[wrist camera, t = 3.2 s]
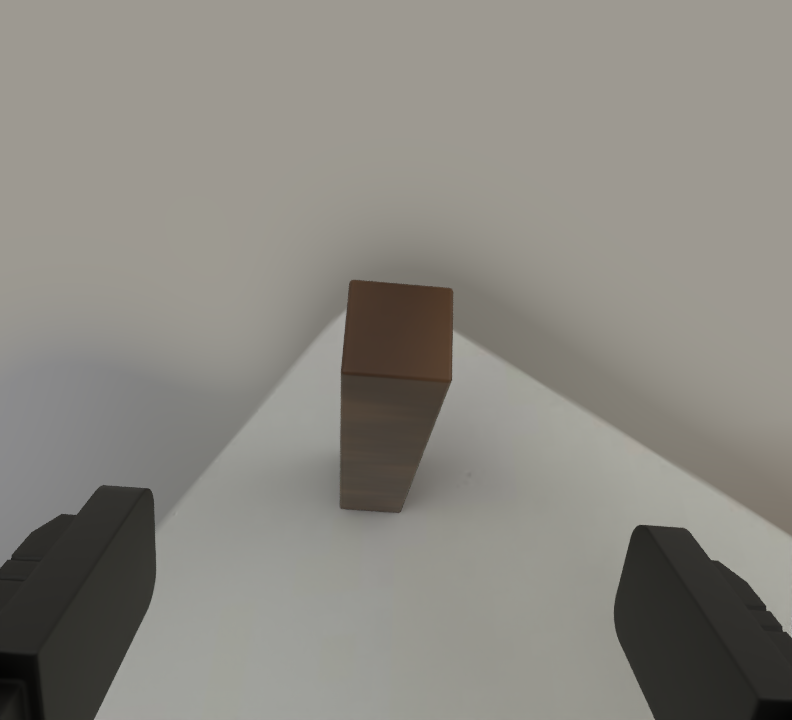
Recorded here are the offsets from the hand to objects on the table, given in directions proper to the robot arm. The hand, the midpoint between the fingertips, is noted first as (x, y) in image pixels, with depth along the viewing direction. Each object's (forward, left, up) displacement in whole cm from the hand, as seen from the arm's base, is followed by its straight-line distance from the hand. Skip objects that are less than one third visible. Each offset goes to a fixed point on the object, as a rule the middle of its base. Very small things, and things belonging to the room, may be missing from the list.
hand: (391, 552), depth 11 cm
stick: (-3, +4, -15) cm, 15 cm away
